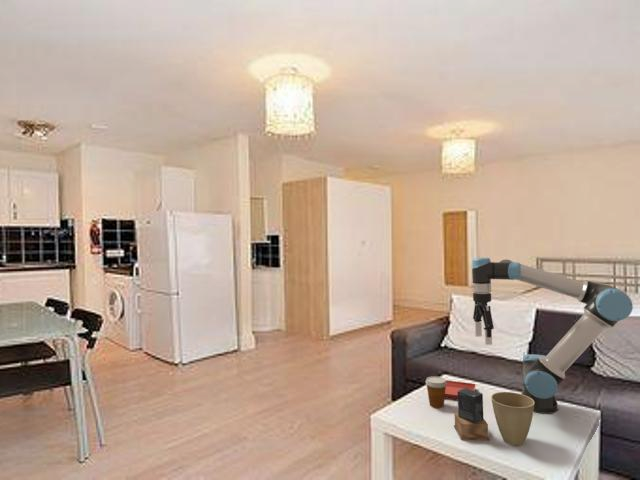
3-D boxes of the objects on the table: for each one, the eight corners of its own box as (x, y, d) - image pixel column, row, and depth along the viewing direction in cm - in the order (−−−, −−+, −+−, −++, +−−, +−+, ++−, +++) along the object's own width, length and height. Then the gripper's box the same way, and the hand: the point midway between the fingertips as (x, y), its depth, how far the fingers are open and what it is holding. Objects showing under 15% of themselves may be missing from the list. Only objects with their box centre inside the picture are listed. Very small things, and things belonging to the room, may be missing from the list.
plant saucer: (475, 389, 204) (475, 383, 204) (473, 404, 187) (473, 396, 187) (439, 385, 211) (438, 379, 211) (434, 398, 195) (433, 391, 195)
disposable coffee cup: (424, 408, 183) (424, 382, 183) (427, 400, 192) (426, 375, 192) (446, 411, 180) (445, 384, 180) (448, 402, 189) (447, 377, 189)
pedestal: (480, 426, 164) (480, 412, 164) (489, 440, 154) (488, 424, 154) (454, 426, 165) (453, 412, 165) (461, 440, 155) (460, 424, 155)
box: (483, 419, 158) (483, 393, 158) (475, 424, 155) (474, 396, 154) (466, 412, 164) (465, 387, 164) (457, 416, 161) (457, 390, 161)
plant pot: (545, 446, 148) (543, 403, 148) (512, 454, 144) (510, 410, 144) (514, 428, 162) (513, 389, 162) (483, 434, 158) (482, 394, 158)
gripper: (465, 288, 191) (466, 333, 191) (482, 297, 166) (483, 348, 166) (481, 288, 190) (482, 333, 190) (501, 296, 165) (502, 348, 165)
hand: (483, 340), depth 178 cm, fingers open, 13 cm apart
